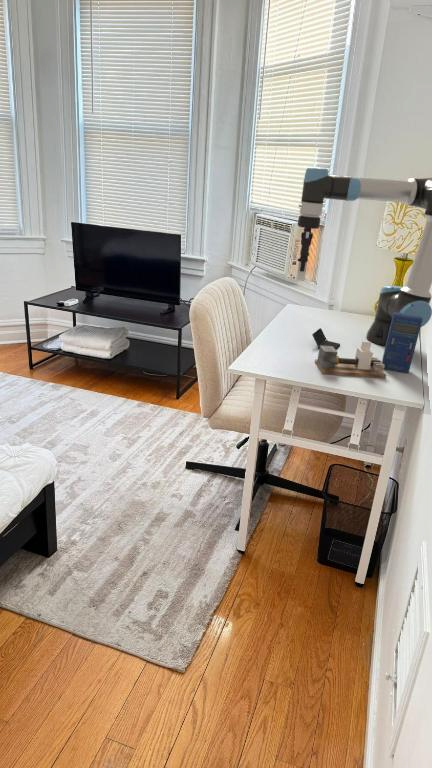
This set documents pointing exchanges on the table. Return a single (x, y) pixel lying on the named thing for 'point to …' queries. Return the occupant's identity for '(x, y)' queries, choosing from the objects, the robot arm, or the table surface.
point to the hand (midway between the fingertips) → (300, 276)
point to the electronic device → (401, 342)
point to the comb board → (346, 365)
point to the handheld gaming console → (323, 340)
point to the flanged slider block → (364, 355)
